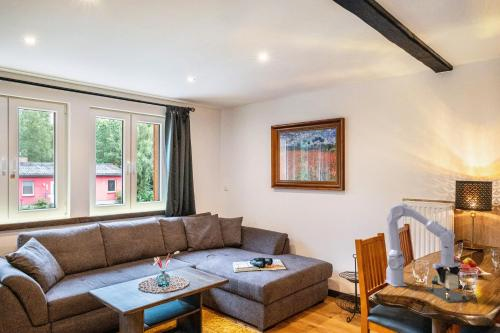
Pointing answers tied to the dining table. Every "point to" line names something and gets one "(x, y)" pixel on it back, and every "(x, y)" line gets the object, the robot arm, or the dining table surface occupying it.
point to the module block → (449, 280)
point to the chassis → (448, 294)
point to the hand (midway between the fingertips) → (447, 282)
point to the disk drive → (435, 281)
